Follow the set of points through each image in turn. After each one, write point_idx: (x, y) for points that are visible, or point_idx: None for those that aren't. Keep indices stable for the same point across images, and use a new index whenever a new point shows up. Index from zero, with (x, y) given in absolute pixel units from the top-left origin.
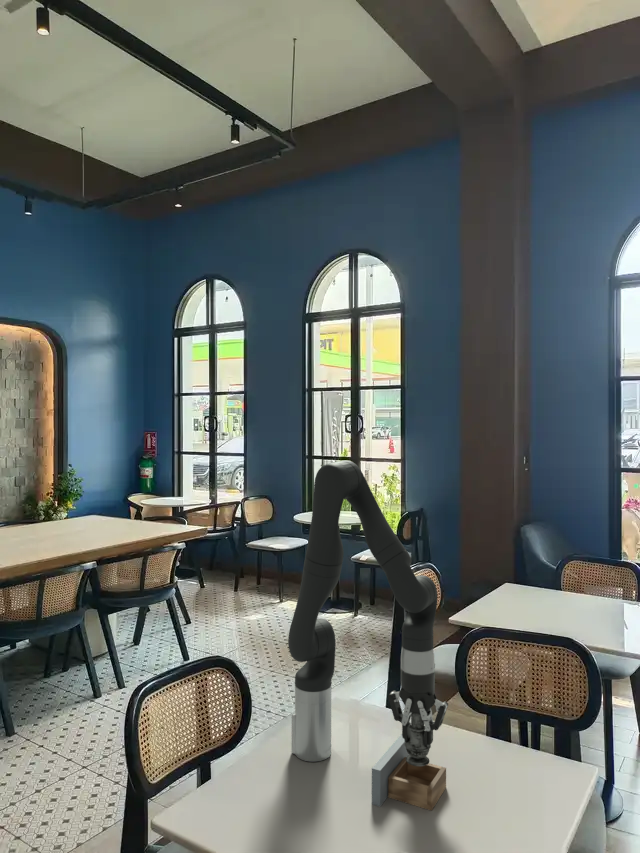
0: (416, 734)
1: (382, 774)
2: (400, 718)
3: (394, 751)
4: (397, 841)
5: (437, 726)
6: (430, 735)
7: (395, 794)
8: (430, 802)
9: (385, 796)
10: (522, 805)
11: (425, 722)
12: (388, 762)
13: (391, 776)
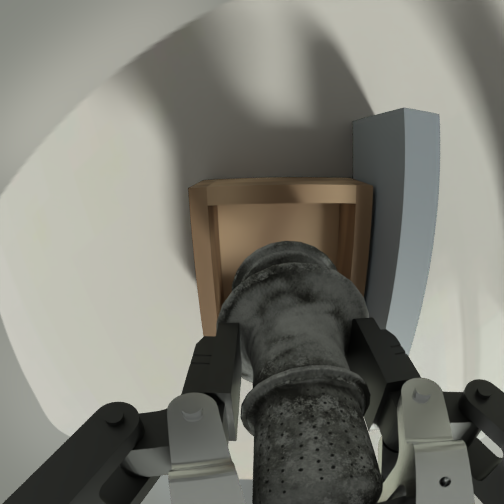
0: (296, 354)
1: (391, 136)
2: (454, 411)
3: (398, 296)
4: (238, 10)
5: (93, 425)
6: (190, 379)
7: (330, 179)
8: (203, 182)
9: (356, 163)
10: (55, 318)
11: (209, 453)
12: (399, 207)
13: (365, 197)
